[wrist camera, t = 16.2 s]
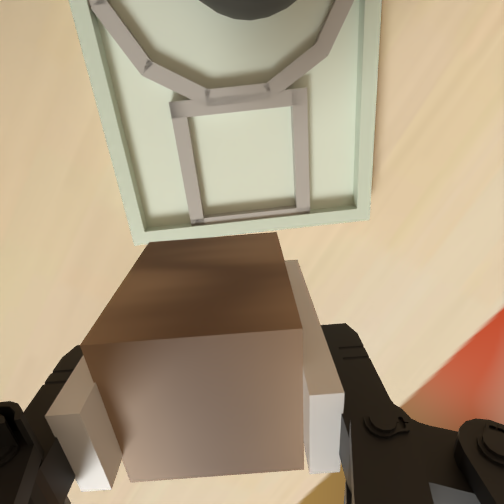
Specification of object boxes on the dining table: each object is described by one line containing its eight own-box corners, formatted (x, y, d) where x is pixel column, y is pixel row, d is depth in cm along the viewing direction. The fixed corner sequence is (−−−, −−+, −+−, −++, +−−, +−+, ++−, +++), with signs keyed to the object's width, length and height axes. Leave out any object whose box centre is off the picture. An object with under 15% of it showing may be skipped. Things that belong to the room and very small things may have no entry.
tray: (141, 235, 27) (134, 245, 25) (17, -256, 16) (-15, -308, 14) (359, 211, 27) (369, 219, 25) (380, -292, 16) (401, -349, 14)
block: (171, 342, 15) (130, 482, 9) (149, 242, 13) (79, 345, 7) (281, 334, 15) (303, 469, 9) (276, 232, 13) (303, 328, 7)
